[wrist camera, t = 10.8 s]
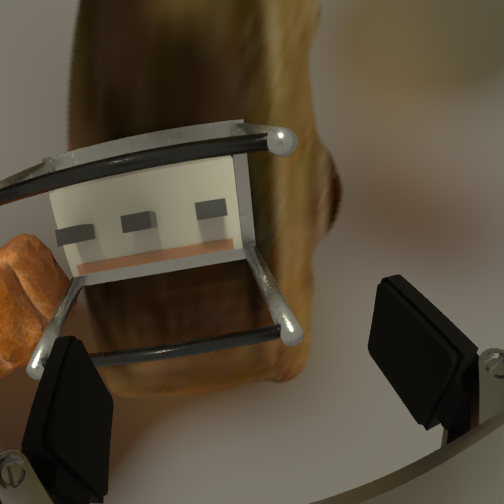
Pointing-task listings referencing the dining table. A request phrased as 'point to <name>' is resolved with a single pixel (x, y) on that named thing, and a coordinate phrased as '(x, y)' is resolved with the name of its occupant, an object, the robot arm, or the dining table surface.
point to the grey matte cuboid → (211, 209)
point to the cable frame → (154, 155)
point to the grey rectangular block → (75, 234)
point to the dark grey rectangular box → (138, 221)
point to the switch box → (150, 199)
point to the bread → (26, 298)
